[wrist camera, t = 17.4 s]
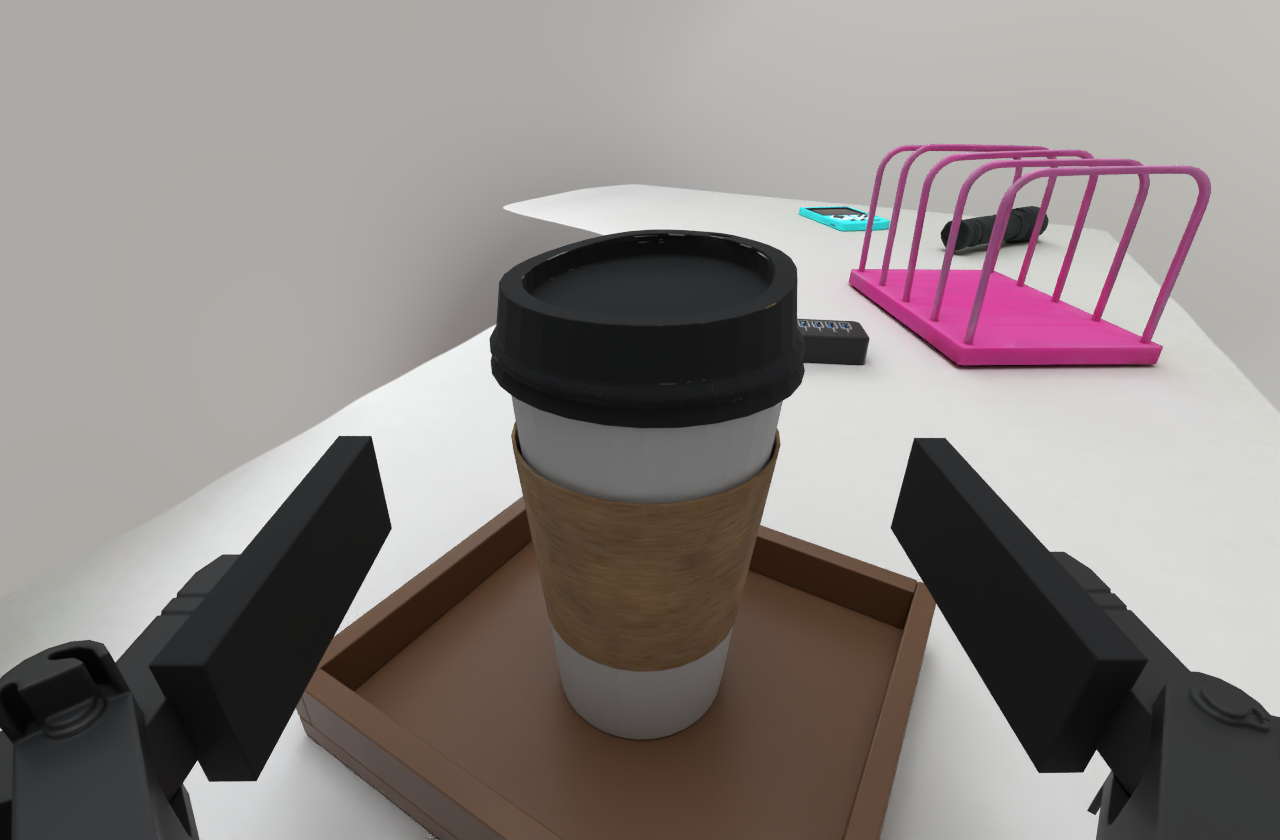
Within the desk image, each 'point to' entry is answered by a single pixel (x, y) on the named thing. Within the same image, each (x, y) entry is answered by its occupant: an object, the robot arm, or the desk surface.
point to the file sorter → (1008, 309)
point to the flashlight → (981, 228)
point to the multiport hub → (833, 341)
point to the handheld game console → (843, 218)
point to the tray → (607, 764)
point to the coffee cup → (646, 454)
